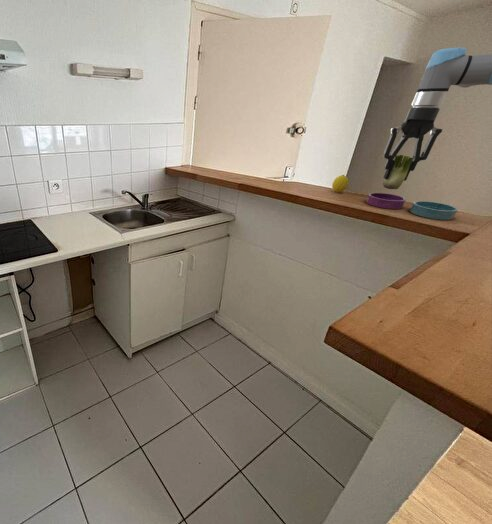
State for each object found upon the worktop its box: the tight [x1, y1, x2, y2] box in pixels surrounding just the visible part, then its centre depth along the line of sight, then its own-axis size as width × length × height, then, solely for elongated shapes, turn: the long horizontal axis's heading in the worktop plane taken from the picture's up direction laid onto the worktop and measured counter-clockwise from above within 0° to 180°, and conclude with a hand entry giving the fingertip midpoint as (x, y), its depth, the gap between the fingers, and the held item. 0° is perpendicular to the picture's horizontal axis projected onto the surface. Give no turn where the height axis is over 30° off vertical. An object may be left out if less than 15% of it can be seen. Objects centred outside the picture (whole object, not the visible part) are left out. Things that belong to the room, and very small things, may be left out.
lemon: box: [331, 174, 349, 194], centre depth 122 cm, size 6×6×8 cm
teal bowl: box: [409, 200, 459, 221], centre depth 98 cm, size 11×11×4 cm
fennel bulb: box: [382, 154, 414, 190], centre depth 103 cm, size 6×5×12 cm
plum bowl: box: [365, 192, 407, 210], centre depth 108 cm, size 11×11×4 cm
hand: (394, 179), depth 104 cm, fingers closed on fennel bulb, 5 cm apart
